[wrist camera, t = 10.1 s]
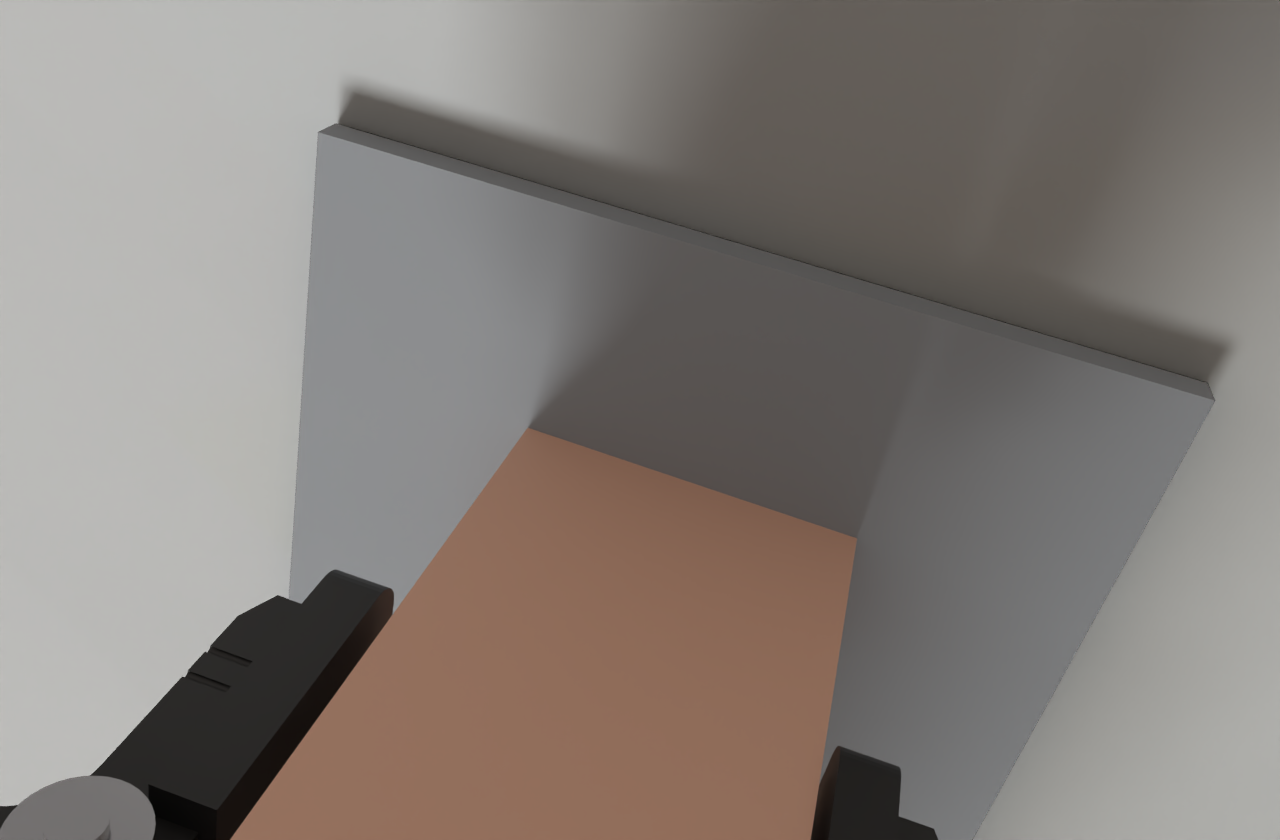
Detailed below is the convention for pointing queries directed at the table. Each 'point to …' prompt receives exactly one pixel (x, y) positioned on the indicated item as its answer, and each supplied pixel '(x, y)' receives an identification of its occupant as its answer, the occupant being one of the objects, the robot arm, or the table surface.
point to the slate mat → (732, 432)
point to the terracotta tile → (586, 672)
